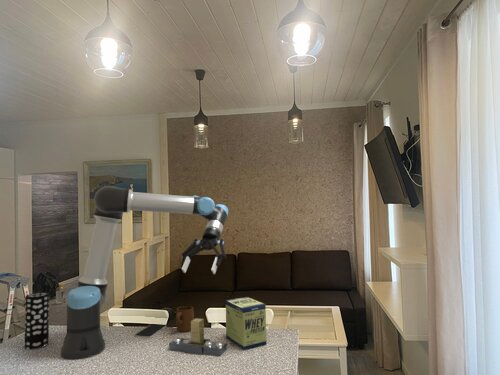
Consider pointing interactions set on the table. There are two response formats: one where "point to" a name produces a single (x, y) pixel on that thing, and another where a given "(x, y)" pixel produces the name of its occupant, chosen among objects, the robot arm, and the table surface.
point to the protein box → (246, 322)
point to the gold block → (197, 331)
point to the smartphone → (150, 330)
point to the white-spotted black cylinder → (36, 320)
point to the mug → (184, 318)
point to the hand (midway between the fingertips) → (197, 271)
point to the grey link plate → (198, 347)
